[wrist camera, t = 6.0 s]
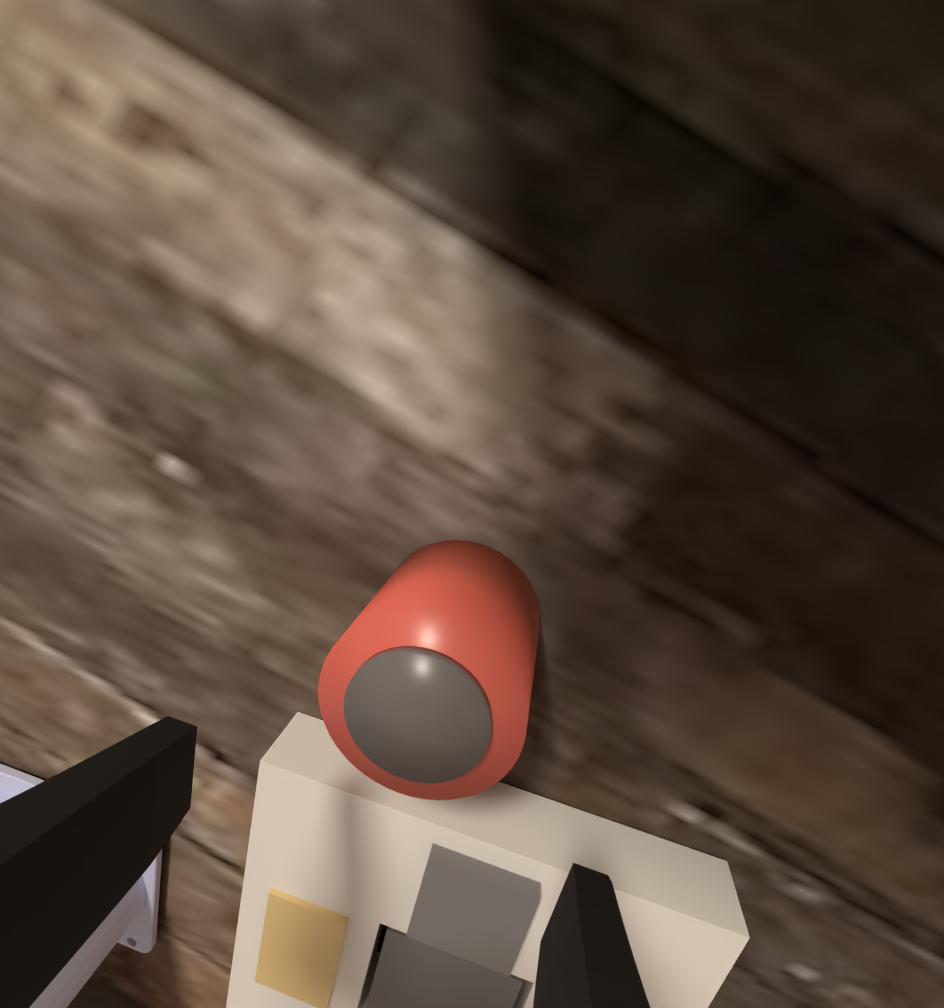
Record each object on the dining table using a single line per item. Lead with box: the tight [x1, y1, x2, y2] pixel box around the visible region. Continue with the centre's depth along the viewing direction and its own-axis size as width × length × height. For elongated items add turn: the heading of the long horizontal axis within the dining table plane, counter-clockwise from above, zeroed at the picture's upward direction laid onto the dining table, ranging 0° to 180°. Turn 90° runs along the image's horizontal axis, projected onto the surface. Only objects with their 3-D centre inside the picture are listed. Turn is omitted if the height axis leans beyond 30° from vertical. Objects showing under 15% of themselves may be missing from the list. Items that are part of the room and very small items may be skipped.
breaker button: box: [366, 927, 524, 1008], centre depth 20 cm, size 5×5×2 cm
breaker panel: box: [226, 712, 750, 1008], centre depth 20 cm, size 16×16×3 cm
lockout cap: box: [318, 540, 540, 800], centre depth 15 cm, size 5×5×5 cm
